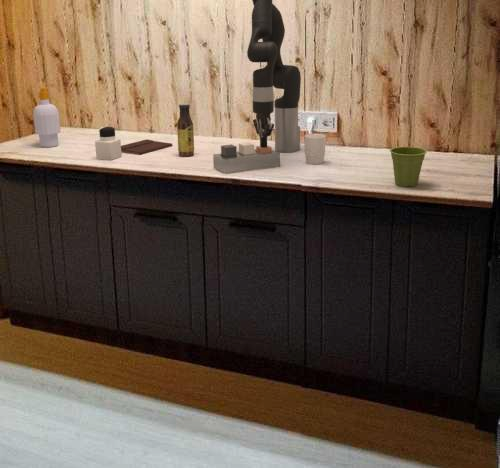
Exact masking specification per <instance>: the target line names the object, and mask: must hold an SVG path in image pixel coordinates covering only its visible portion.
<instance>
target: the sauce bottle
mask: <svg viewBox="0 0 500 468" xmlns="http://www.w3.org/2000/svg"><path fill="white" fill-rule="evenodd" d="M190 106H191V105H190V104H189V103H180V104H178V109H179V118H178V119H177V123H176V126H177V150H178V155H179V156H180V157H191V156H194V155H195V140H194V139H195V136H194V133H195V132H194V123H193V121H192V120H193V119H192V118H191V115H190V108H191V107H190Z"/></svg>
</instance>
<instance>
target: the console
mask: <svg viewBox="0 0 500 468" xmlns="http://www.w3.org/2000/svg"><path fill="white" fill-rule="evenodd" d="M212 155H213V156H212V157H213V169H215V170H217V171H219V172H221V173H222V174H224V173H226V174H233V172H234V173H238V172H239V173H240V172H248V170H249V171H254V170H255V169H256V170H262V169H270V168H277V167H281V152H278V151H275V149H272V152H270V153H258V152H256V148H254V154H251V155H242V154H240V153H239V150H237V156H234V157H224V156H222V155H221V153H214V154H212ZM256 170H255V171H256Z"/></svg>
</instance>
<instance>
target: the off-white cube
mask: <svg viewBox="0 0 500 468" xmlns="http://www.w3.org/2000/svg"><path fill="white" fill-rule="evenodd" d="M254 149H255V144H254V143H252V142H243V143H241V142H240V143H238V151H239V153H240V154H242V155H251V154H254Z"/></svg>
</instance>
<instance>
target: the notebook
mask: <svg viewBox="0 0 500 468" xmlns="http://www.w3.org/2000/svg"><path fill="white" fill-rule="evenodd" d="M171 147H173V143H171V142H164V141H156V140H152V139H142V140H138V141H135V142H131V143H127V144H123V145H122V144H121V154H123V153H124V154H129V155H130V154H131V155H137V156H141V155H145V154H150V153H153V152H155V151H161V150H164V149H167V148H171Z"/></svg>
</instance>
